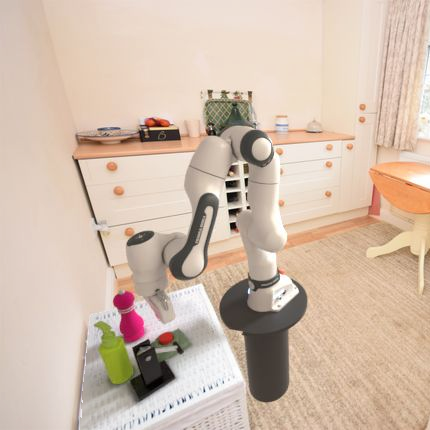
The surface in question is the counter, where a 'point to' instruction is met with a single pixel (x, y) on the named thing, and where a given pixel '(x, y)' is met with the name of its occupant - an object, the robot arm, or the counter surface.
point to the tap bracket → (149, 372)
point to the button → (165, 338)
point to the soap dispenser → (114, 355)
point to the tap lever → (163, 349)
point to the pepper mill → (128, 316)
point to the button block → (171, 344)
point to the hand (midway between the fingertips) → (160, 317)
